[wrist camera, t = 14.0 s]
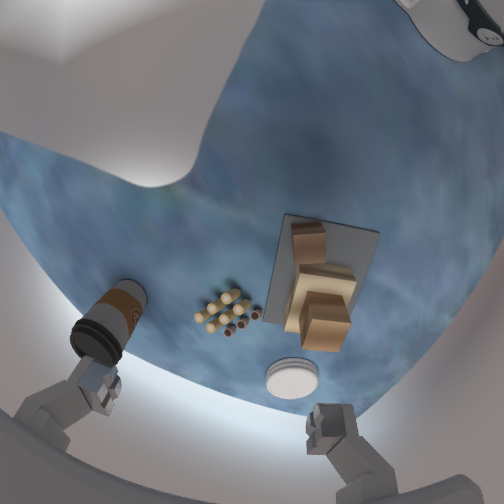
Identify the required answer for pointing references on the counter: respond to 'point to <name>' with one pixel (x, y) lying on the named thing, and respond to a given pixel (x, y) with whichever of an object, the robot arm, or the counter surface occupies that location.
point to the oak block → (323, 322)
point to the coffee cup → (109, 323)
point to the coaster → (292, 378)
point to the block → (308, 243)
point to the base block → (316, 288)
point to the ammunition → (227, 313)
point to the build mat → (337, 252)
